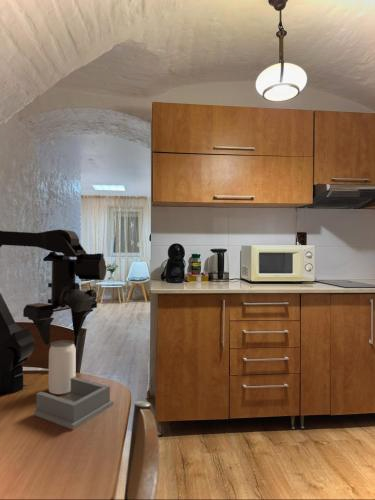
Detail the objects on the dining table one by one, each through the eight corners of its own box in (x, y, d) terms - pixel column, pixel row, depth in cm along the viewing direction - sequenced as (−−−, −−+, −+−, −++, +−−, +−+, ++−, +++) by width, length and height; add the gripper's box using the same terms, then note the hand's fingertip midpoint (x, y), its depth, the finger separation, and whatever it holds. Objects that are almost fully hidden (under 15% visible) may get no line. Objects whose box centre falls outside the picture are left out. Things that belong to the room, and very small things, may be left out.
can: (66, 396, 82) (66, 347, 82) (42, 393, 83) (43, 345, 83) (80, 385, 88) (80, 340, 88) (58, 383, 89) (58, 338, 89)
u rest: (33, 415, 73) (34, 394, 72) (76, 393, 83) (76, 376, 83) (73, 430, 67) (73, 407, 67) (113, 405, 77) (113, 386, 77)
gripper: (54, 284, 73) (53, 355, 73) (112, 278, 89) (111, 336, 89) (22, 281, 78) (21, 347, 78) (82, 276, 94) (81, 330, 95)
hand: (62, 340), depth 85 cm, fingers open, 9 cm apart
